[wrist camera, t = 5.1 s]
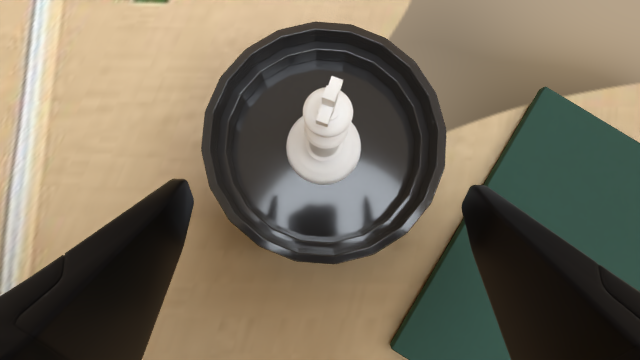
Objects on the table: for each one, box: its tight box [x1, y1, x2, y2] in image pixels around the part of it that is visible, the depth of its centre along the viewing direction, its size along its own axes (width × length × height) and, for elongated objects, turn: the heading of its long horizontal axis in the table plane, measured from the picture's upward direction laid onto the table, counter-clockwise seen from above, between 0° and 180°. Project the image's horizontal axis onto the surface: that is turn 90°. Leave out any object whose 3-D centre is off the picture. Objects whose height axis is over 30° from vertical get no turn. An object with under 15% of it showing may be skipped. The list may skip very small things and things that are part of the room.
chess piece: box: [286, 76, 361, 185], centre depth 15 cm, size 5×5×10 cm
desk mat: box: [390, 87, 640, 360], centre depth 19 cm, size 20×16×1 cm
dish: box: [201, 22, 446, 264], centre depth 19 cm, size 14×14×3 cm
